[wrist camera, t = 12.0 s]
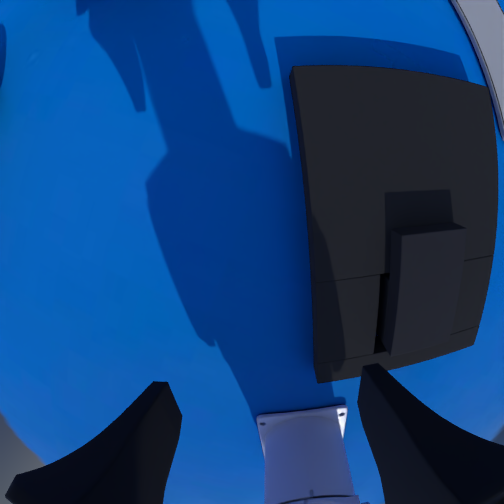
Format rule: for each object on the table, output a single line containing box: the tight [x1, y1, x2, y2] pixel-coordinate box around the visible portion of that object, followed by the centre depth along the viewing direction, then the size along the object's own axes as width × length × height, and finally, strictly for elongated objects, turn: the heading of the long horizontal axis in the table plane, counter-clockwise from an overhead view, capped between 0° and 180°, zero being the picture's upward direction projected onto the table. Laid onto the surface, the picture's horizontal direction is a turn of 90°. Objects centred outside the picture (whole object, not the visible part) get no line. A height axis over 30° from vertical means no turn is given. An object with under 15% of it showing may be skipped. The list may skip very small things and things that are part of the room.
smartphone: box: [451, 0, 504, 141], centre depth 11 cm, size 7×1×15 cm
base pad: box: [289, 65, 498, 383], centre depth 16 cm, size 20×14×2 cm
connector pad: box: [376, 222, 467, 357], centre depth 16 cm, size 8×5×4 cm, turn 7°
